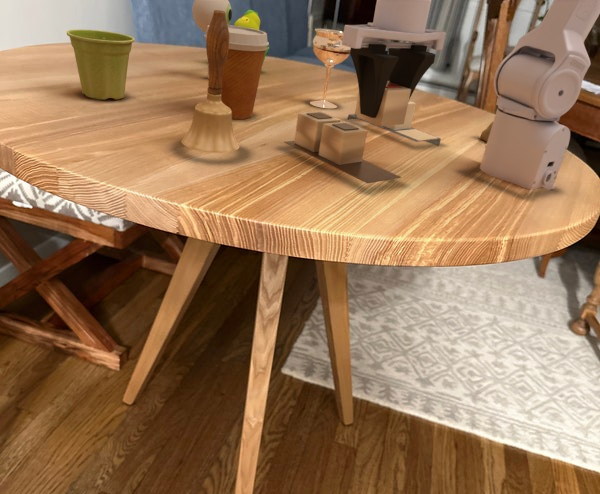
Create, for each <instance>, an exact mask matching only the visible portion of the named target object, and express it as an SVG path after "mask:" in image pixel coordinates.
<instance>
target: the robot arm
mask: <svg viewBox="0 0 600 494" xmlns="http://www.w3.org/2000/svg"><path fill="white" fill-rule="evenodd" d="M431 5H432V0H376V3H375V10H374V15H373V21H372V22H367V24H345V25H344V28H343V32H344V33H343V40H342V45H344V46H348V47H351V49H350V54H349V56H350V57H351V60H352V64H353V66H354V70H355V74H356V79H357V86H358V93H359V97H360V114H363V115H365V116H368V117H371V118H376V116H377V114H378V111H379V108H380V105H381V102H382V98H383V94H384V90H385V87H386V84H387V82H390V83H394V84H397V85H400V86H403V87H406V88H409V89H411V93H410V97H409V101H411V100H410V99H411V97H412V95H413V93H414V91H415V89H416V87H417V86H418V84H419V83H420V81H421V79H422V78H423V77H424V75H425V74H426V73H427V72H428V70H430V68H431V67H432V66H433V65H434V63H435V59H436V53H434V52H430V51H427V50H435V51H443V48H444V43H445V39H446V36H447V35H446V34H447V33H446V31H441V30H437V29H429V28H426V27H427V24H428V19H429V14H430V9H431ZM599 16H600V0H553V1H552V2H551V4H550V6H549V8H548V10H547V12H546V14H545V16H544V17H543V19H542V21H541V23H540V24H539V25H538V26H536V27H535V28H533V29H531V30H530V31H529V32H526V33H525V34H523V36H521V37H520V38H518V40H517V43H515V46H514V48H513V49H512V50H511V51H510V53H509V54H507V55H506V56H505V57H504V58H503V59H502V60H501V62H500V63H499V64H498V66H497V68H496V71H495V72H494V76H493V90H494V92H495V95H496V97H497V100H496V102H495V105H496V106H497V108H496V112H495V115H494V117H493V118H494V119H493V121H492V122H493V125H492V128H491V131H490V135H489V138H488V141H487V142H486V145H485V148H484V151H483V155H482V158H481V162H480V165H479V169H480V171H482V172H483V173H484V174H486V175H488V176H490V177H493V178H496V179H499V180H502V181H505V182H509V183H511V184H514V185H517V186H519V187H522V188H524V189H527V190H529V191H530V190H531V191H532V190H536V189H537V190H538V189H540V188H543V189H546V190H549V191H551V190H555V188H556V184H555V182H556V179H557V176H558V174H559V172H560V168H561V166H562V164H563V160H564V159H565V157H566V156H565V155H566V154H567V153H566V152H567V149H568V147H569V144H570V141H571V129H570V128H569V127H568V126H566V125H564V124H560V123H559V122H560V119H561V117H562V116H563V115H565V114H566V113H567V112H569V111H570V110H571V109H572V107H573V106H574V105H575V103H577V102H576V101H577V100H578V98H579V96H580V93H581V90H582V86H583V81H584V78H585V76H586V74H587V72H588V70H589V68H590V66H591V64H592V63H591V59H590V57H589V54H588V51H587V49H586V46H585V40H586V39H587V38H588V35H589V34H590V32H591V30H592V28H593V26H594V25H595V23H596V21H597V19H598V18H599ZM396 41H397V42H396ZM398 41H399V42H398ZM401 41H402V42H401Z"/></svg>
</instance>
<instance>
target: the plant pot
mask: <svg viewBox="0 0 600 494" xmlns="http://www.w3.org/2000/svg"><path fill="white" fill-rule="evenodd" d="M66 35H67V36H68V37H69V40H70V44H71V47H72V49H73V51H74V52H73V53H74V57H75V61H76V62H75V63H76V68H77V72H78V77H79V81H80V87H81V92H82V94H83V95H85V97H87V98H90V99H97V100H101V101H103V100H108V99H113V100H116V101H117V100H121V99H123V98H125V95H126V85H127V84H126V83H127V74H128V67H129V59H130V53H131V51H132V45H133V43H134V42H135V39H136V38H135V37H133V36H130V35H128V34H123V33H119V32H114V31H109V30H108V31H107V30H97V29H68V30H66Z"/></svg>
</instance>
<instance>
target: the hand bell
mask: <svg viewBox="0 0 600 494" xmlns="http://www.w3.org/2000/svg"><path fill="white" fill-rule="evenodd" d="M205 47H206V57H207V63H208V62H209V79H208V81H207V82H208V83H207V86H208V87H207V93H206V99H205V100H204V101H201V102H199V103H197V104H195V106H194V112H193V116H192V120H191V124H190V128H189V130H188V131H187V133H186V134H185V136H184V137H183V138H182V139H181V144H182V145H183V146H185V147H187V148H188V149H191V150H195V151H198V152H203V153H212V154H213V153H214V154H225V153H232V152H235V151H238V150H239V149H240V148H241V145H240V143H239V142H238V140H237V138H236V135H235V132H234V126H233V119H232V111H231V109H230V108H229V107H227V106H226V105H225V104H223V103H222V101H221V93H222V89H221V88H222V73H223V68H224V64H225V62H226V59H227V55H228V49H229V30H228V25H227V21H226V13H225V11H220V10H214V13H213V17H212V20H211V23H210V25H209V28H208V32H207V40H206V42H205Z"/></svg>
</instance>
